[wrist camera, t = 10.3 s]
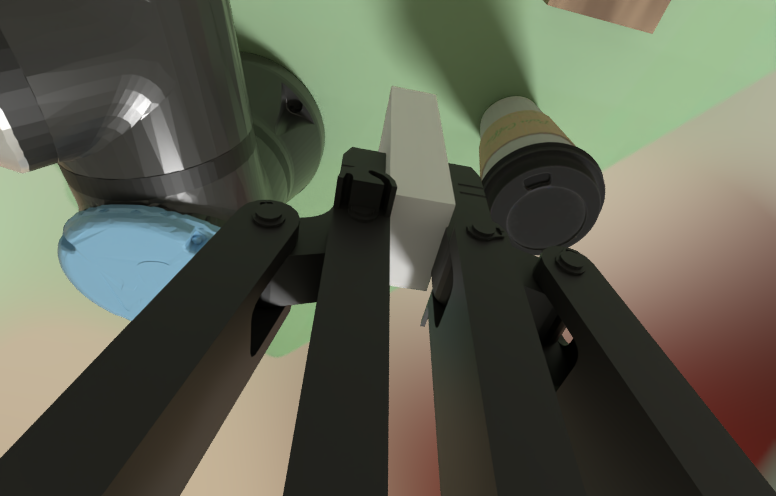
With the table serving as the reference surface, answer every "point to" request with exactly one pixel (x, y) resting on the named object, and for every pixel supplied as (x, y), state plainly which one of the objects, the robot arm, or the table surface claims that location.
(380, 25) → the table surface
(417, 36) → the table surface
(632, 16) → the wooden block
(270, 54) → the table surface
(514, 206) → the coffee cup
